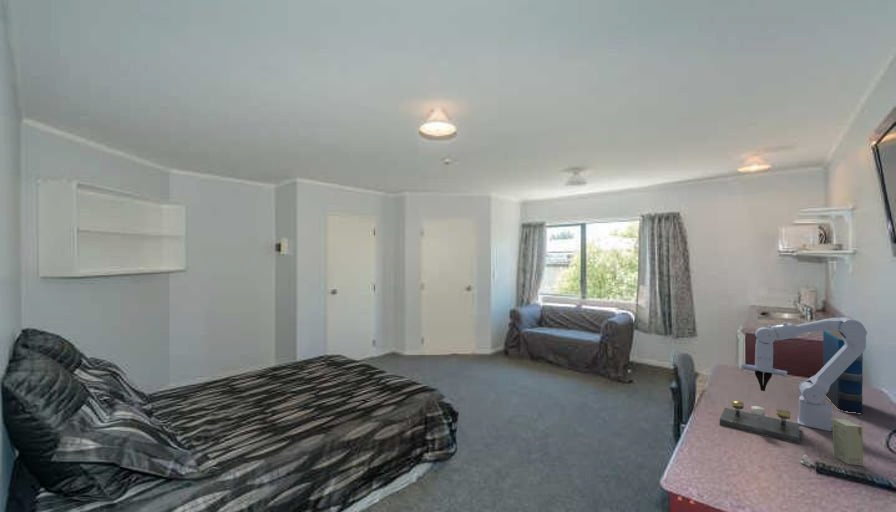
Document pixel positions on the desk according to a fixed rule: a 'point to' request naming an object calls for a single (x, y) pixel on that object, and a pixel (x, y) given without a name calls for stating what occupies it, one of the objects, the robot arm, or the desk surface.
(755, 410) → the middle white knob
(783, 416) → the inner brass knob
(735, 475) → the desk surface
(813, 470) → the desk surface
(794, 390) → the desk surface
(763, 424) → the plate
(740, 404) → the outer brass knob
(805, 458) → the adhesive hook
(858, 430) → the skincare box
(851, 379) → the book
